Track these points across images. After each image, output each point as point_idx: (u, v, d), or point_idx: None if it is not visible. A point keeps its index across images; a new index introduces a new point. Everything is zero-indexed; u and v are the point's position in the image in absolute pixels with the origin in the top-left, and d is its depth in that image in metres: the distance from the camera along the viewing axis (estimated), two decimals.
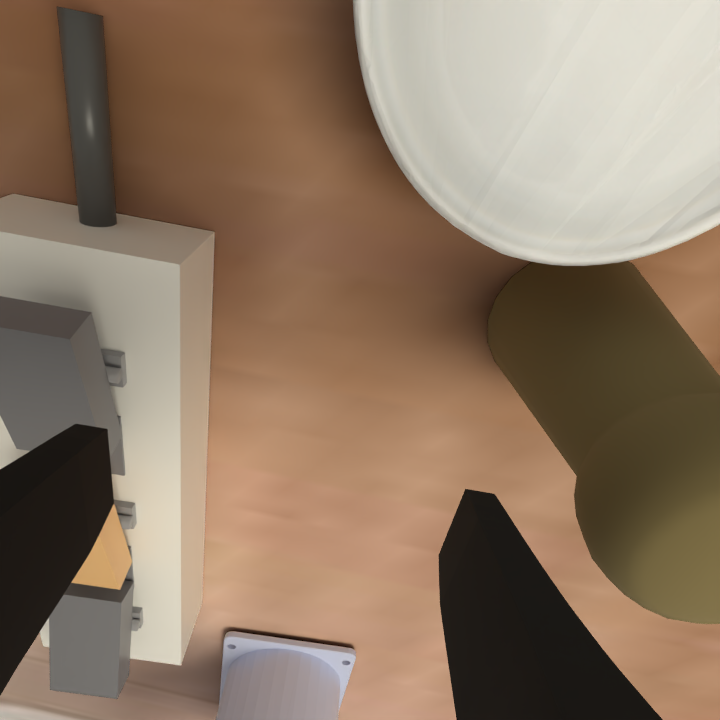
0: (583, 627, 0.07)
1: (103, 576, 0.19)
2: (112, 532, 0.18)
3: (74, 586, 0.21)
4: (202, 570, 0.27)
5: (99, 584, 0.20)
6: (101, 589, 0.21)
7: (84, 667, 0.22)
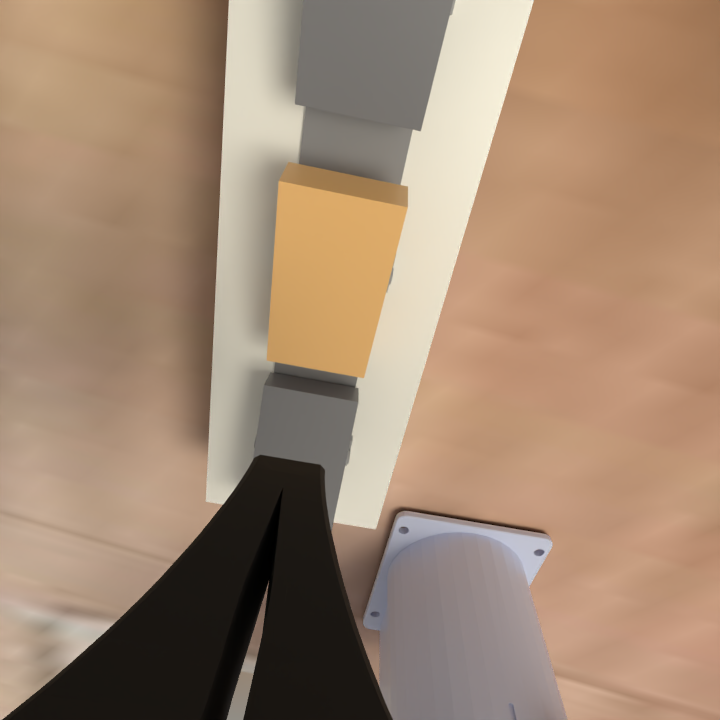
0: (337, 589, 0.07)
1: (354, 348, 0.14)
2: None
3: (290, 384, 0.16)
4: None
5: (339, 367, 0.15)
6: (325, 389, 0.16)
7: None
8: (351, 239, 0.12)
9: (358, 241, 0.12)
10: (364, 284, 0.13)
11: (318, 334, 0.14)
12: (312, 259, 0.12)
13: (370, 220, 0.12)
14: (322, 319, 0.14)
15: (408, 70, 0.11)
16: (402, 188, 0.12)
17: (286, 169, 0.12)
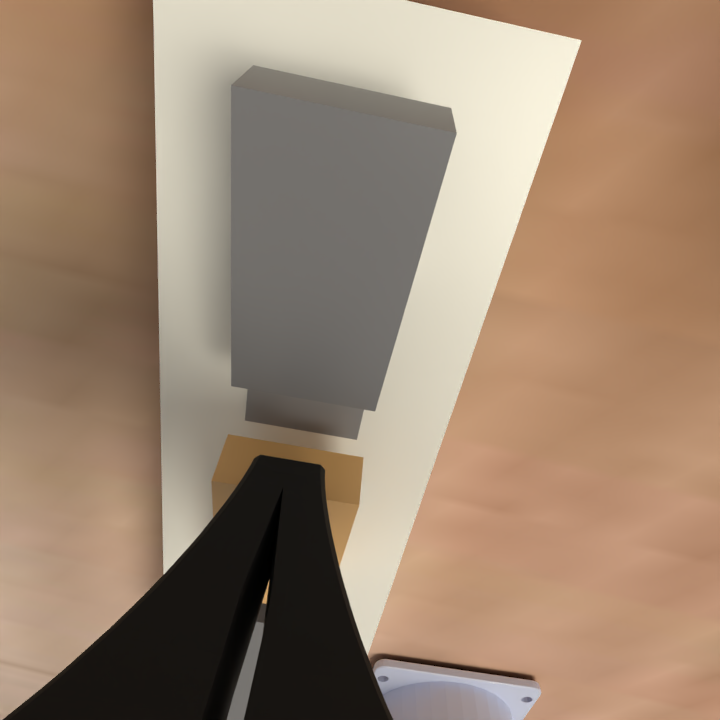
0: (337, 589, 0.07)
1: None
2: None
3: None
4: None
5: None
6: None
7: None
8: None
9: None
10: None
11: None
12: None
13: None
14: None
15: (356, 366, 0.09)
16: (356, 463, 0.11)
17: (223, 452, 0.10)
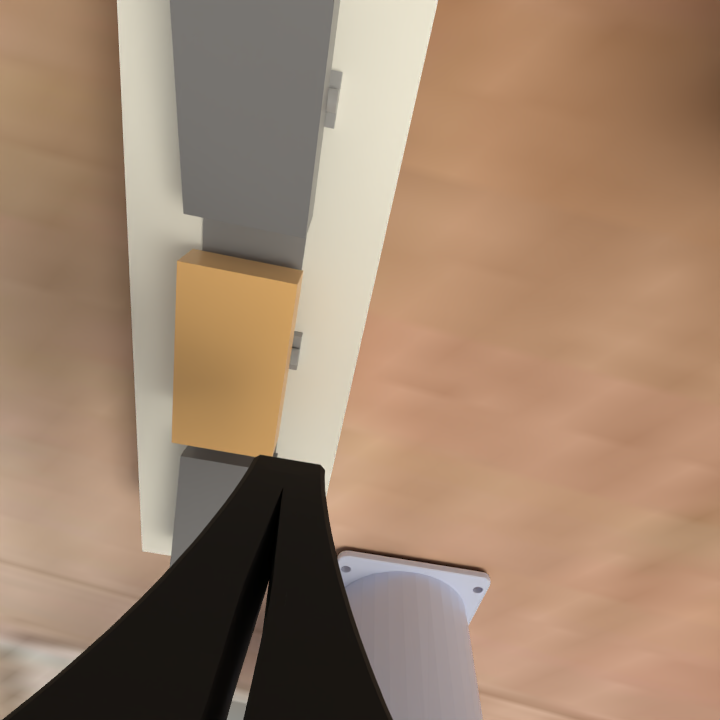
0: (337, 589, 0.07)
1: (259, 427, 0.14)
2: (290, 345, 0.14)
3: (209, 452, 0.16)
4: None
5: (246, 448, 0.15)
6: (242, 457, 0.17)
7: None
8: (248, 315, 0.13)
9: (254, 317, 0.13)
10: (264, 359, 0.13)
11: (222, 412, 0.14)
12: (212, 335, 0.13)
13: (264, 296, 0.12)
14: (225, 396, 0.14)
15: (285, 188, 0.11)
16: (297, 271, 0.13)
17: (188, 253, 0.13)
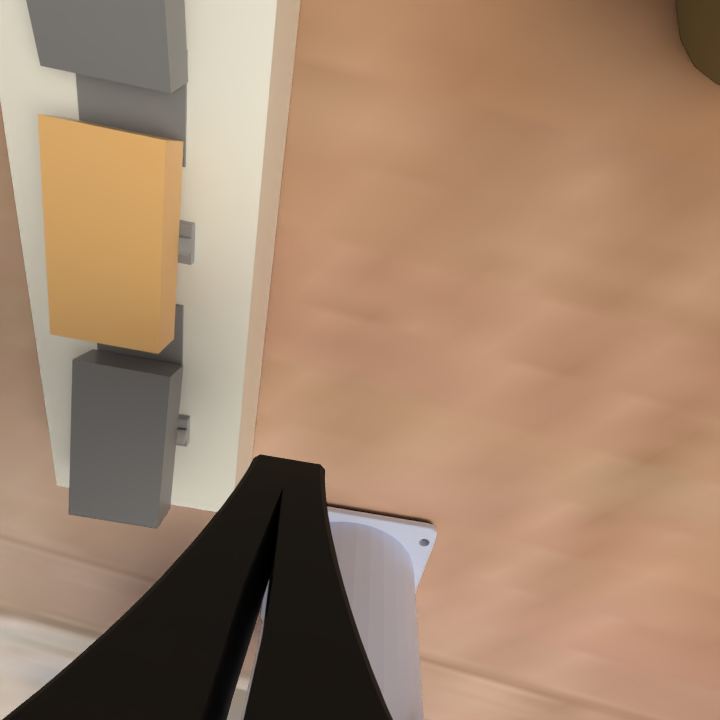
0: (337, 589, 0.07)
1: (141, 313, 0.13)
2: (172, 222, 0.13)
3: (106, 360, 0.16)
4: (256, 404, 0.21)
5: (129, 339, 0.14)
6: (142, 365, 0.16)
7: (115, 479, 0.16)
8: (117, 178, 0.12)
9: (124, 181, 0.12)
10: (139, 230, 0.13)
11: (101, 296, 0.13)
12: (82, 202, 0.12)
13: (132, 155, 0.12)
14: (102, 277, 0.13)
15: (139, 29, 0.11)
16: (175, 140, 0.13)
17: (57, 116, 0.12)
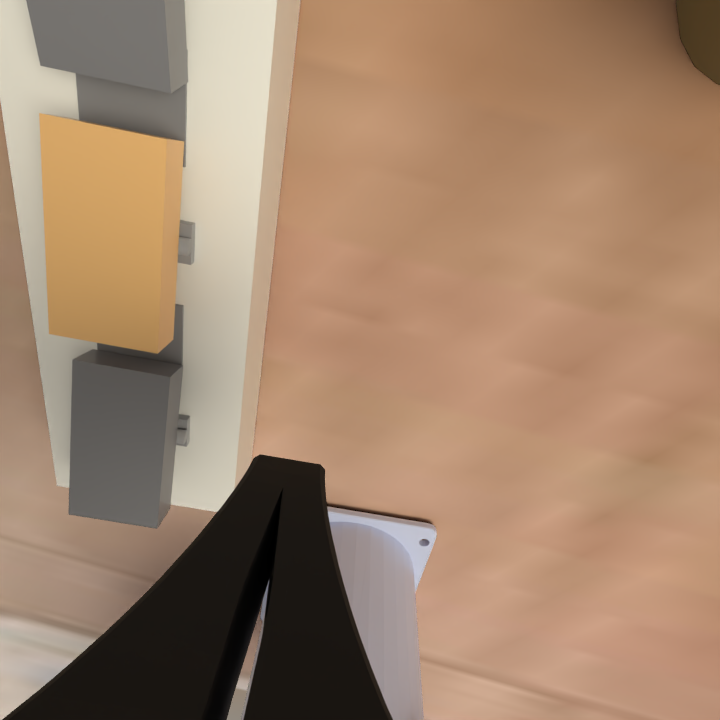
0: (337, 589, 0.07)
1: (141, 313, 0.13)
2: (172, 222, 0.13)
3: (106, 360, 0.16)
4: (256, 404, 0.21)
5: (128, 339, 0.14)
6: (142, 365, 0.16)
7: (115, 479, 0.16)
8: (118, 176, 0.12)
9: (125, 179, 0.12)
10: (139, 229, 0.13)
11: (100, 296, 0.13)
12: (82, 201, 0.12)
13: (133, 154, 0.12)
14: (102, 276, 0.13)
15: (139, 29, 0.11)
16: (176, 140, 0.13)
17: (58, 116, 0.12)
